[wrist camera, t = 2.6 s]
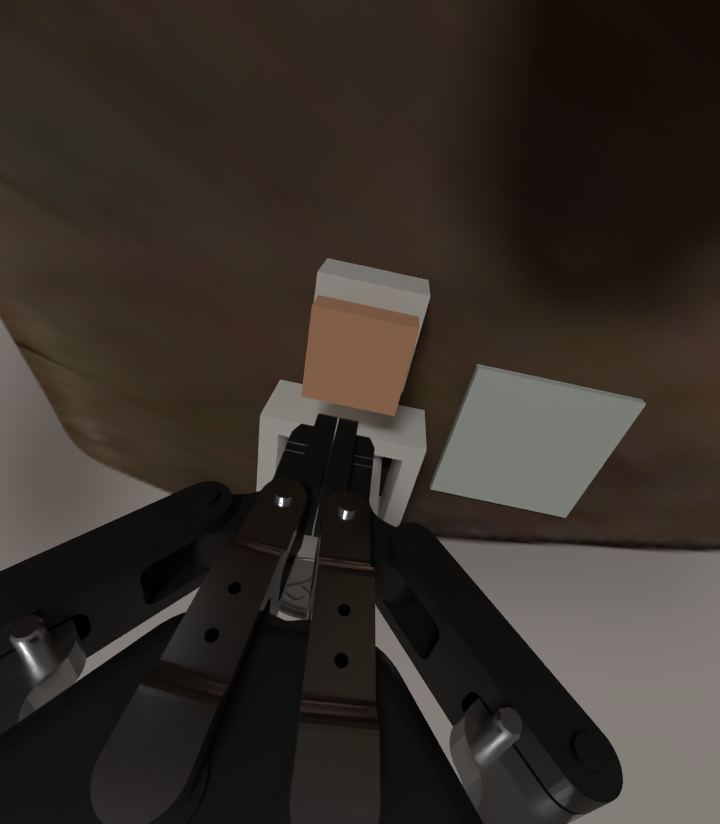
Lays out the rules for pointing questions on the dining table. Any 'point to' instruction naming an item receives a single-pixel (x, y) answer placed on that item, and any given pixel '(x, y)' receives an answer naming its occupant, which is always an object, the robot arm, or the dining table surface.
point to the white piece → (387, 433)
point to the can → (302, 572)
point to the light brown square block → (358, 354)
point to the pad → (530, 440)
